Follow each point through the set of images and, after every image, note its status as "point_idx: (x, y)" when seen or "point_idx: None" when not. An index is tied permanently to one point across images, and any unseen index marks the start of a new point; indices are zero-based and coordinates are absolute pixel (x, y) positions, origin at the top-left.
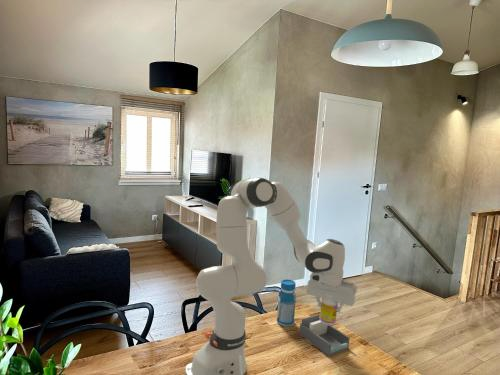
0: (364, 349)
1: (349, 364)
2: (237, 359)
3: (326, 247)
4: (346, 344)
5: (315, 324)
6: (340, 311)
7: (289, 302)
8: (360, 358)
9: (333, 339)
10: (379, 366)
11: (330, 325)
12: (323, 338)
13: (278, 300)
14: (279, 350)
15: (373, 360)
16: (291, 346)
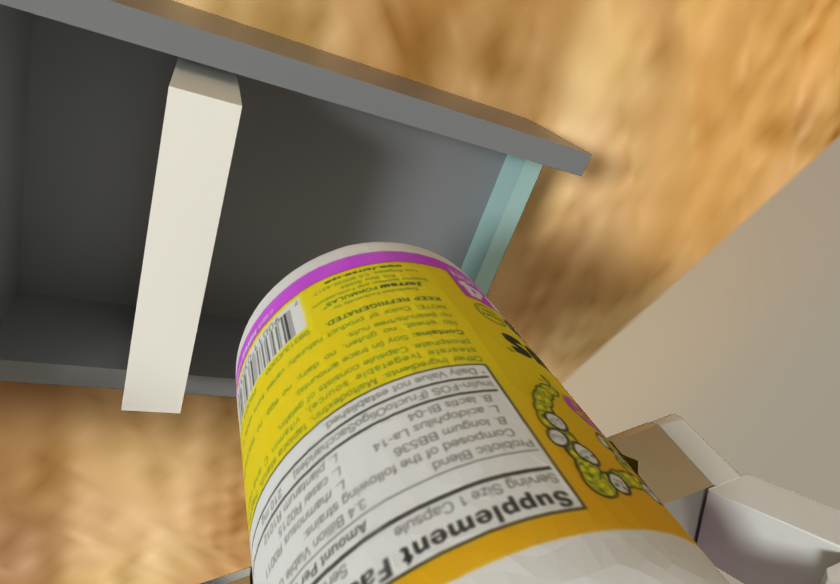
0: (655, 5)
1: (582, 305)
2: None
3: None
4: (536, 171)
5: (190, 359)
6: (671, 418)
7: None
8: (638, 177)
9: (368, 132)
10: (765, 160)
11: (281, 69)
12: (276, 200)
13: None
14: (121, 562)
15: (729, 120)
16: (138, 475)
